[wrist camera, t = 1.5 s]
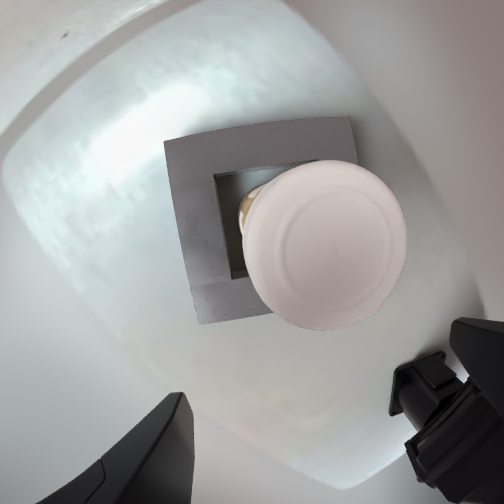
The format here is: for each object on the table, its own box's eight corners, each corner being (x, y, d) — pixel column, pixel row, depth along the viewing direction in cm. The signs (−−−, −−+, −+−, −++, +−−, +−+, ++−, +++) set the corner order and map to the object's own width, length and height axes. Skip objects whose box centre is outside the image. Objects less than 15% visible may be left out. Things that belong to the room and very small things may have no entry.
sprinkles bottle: (230, 239, 20) (223, 317, 7) (247, 175, 19) (274, 131, 6) (292, 255, 21) (380, 346, 7) (310, 194, 20) (430, 193, 7)
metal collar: (357, 281, 21) (370, 291, 19) (202, 310, 21) (199, 325, 18) (336, 125, 19) (349, 116, 17) (171, 147, 19) (163, 141, 16)
